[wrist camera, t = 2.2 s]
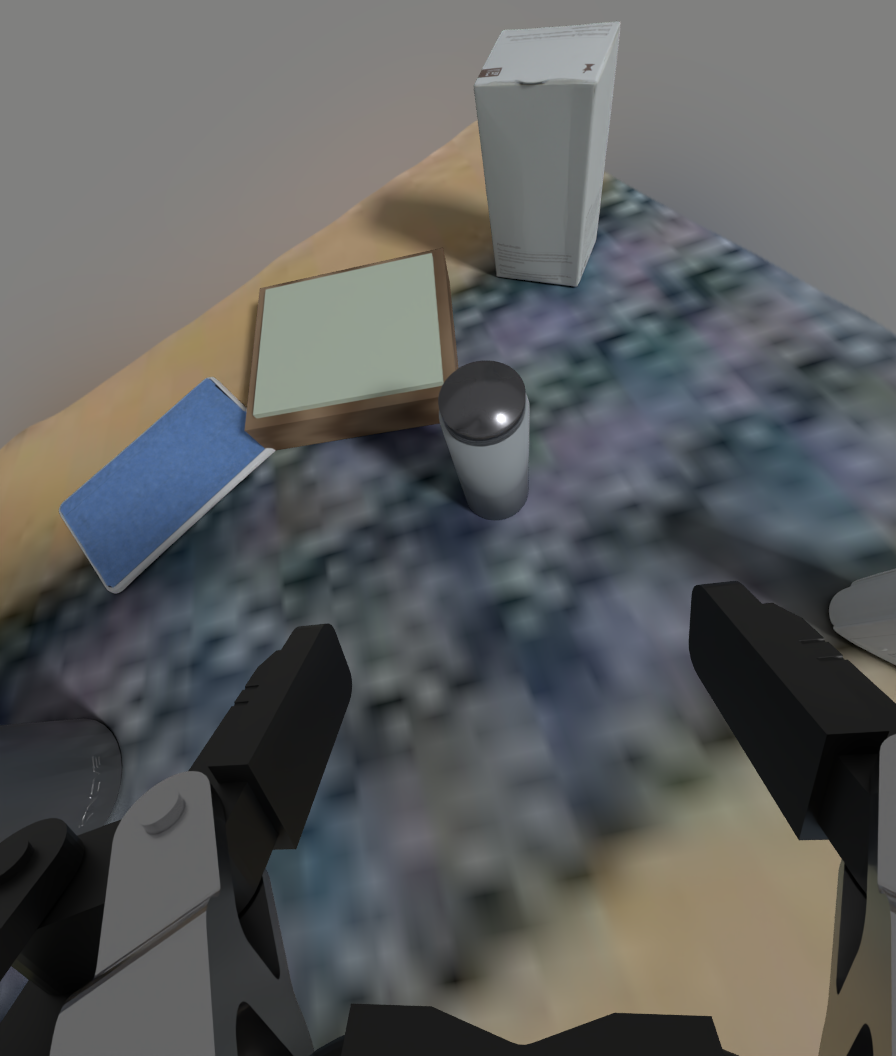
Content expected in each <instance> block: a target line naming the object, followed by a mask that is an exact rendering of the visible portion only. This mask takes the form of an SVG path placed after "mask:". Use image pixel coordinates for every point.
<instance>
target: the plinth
mask: <svg viewBox="0 0 896 1056" xmlns="http://www.w3.org/2000/svg"><path fill="white" fill-rule="evenodd" d="M457 369H458V360H457V350H456V340H455V330H454V321H453V311H452V301H451V291H450V281H449V276H448V271H447V266H446V261H445V255H444V250H443V248H440V249H435V250H431V251H426V252H422V253H417V254H413V255H408V256H404V257H399V258H395V259H390V260H386V261H381V262H377V263H372V264H368V265H363V266H359V267H354V268H350V269H345V270H341V271H336V272H332V273H327V274H323V275H318V276H314V277H309V278H305V279H300V280H296V281H291V282H287V283H282V284H278V285H273V286H269V287H264V288H260V292H259V301H258V310H257V320H256V329H255V338H254V347H253V357H252V366H251V375H250V385H249V394H248V403H247V412H246V422H245V431H246V432H247V433H248V434H249V435H250V436H251V437H252V438H254V439H255V440H256V441H257V442H258V443H259V444H260V445H261V446H263V447H264V448H272V449H274V450H280V449H286V448H293V447H299V446H305V445H311V444H317V443H323V442H329V441H335V440H341V439H347V438H353V437H360V436H366V435H372V434H378V433H384V432H390V431H396V430H402V429H408V428H414V427H420V426H426V425H433V424H439V423H440V421H439V405H438V397H439V392H440V389H441V387H442V385H443V383H444V382H445V380H446V379H447V378H448V377H449V376H450V375H451V374H452V373H453V372H454V371H456V370H457Z"/></svg>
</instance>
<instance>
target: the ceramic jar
mask: <svg viewBox="0 0 896 1056" xmlns="http://www.w3.org/2000/svg"><path fill="white" fill-rule="evenodd" d="M438 405H439V421H440V425H441V428H442V431H443V434H444V437H445V440H446V443H447V446H448V448H449V451H450V454H451V457H452V460H453V463H454V466H455V469H456V472H457V475H458V478H459V481H460V484H461V487H462V490H463V493H464V496H465V499H466V502H467V504H468V506H469V507H470V509H471V510H472V511H473V512H474V513H475V514H477V515H478V516H480V517H482V518H485V519H488V520H503V519H506V518H509V517H511V516H513V515H515V514H516V513H517V512H519V511H520V510H521V508H522V507H523V506H524V504H525V502H526V500H527V497H528V489H529V400H528V397H527V394H526V392H525V386H524V383H523V381H522V379H521V377H520V376H519V374H518V373H517V372H516V371H515V370H513V369H512V368H511V367H509V366H507V365H505V364H503V363H500V362H495V361H477V362H472V363H469V364H466V365H464V366H462V367H460V368H459V369H457V370H456V371H454V372H453V373H452V374H451V375H450V376H449V377H448V378H447V379H446V380H445V382H444V383H443V385H442V387H441V389H440V392H439V397H438Z"/></svg>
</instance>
